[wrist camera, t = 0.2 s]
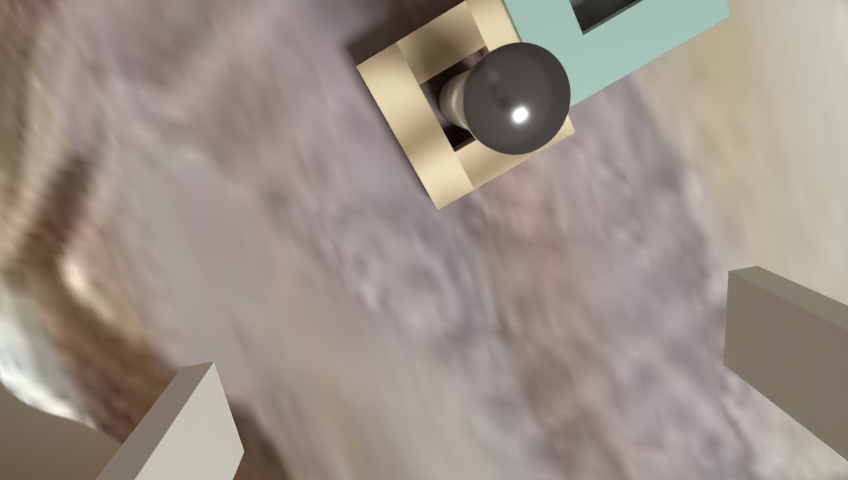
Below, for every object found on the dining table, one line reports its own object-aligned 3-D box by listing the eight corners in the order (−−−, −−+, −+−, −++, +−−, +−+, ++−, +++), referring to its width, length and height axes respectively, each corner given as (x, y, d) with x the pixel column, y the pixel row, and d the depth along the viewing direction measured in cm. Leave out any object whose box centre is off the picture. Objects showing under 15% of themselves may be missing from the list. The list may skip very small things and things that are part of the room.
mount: (358, 68, 34) (356, 66, 32) (498, -16, 33) (506, -25, 31) (434, 203, 38) (437, 210, 35) (563, 130, 37) (575, 132, 34)
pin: (421, 87, 35) (445, 78, 20) (477, 53, 34) (543, 20, 20) (451, 144, 36) (494, 174, 22) (506, 113, 36) (586, 121, 22)
